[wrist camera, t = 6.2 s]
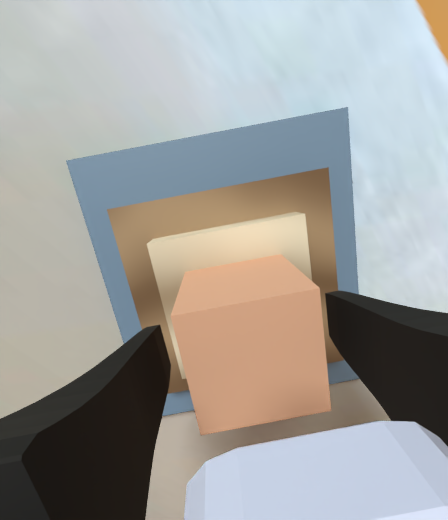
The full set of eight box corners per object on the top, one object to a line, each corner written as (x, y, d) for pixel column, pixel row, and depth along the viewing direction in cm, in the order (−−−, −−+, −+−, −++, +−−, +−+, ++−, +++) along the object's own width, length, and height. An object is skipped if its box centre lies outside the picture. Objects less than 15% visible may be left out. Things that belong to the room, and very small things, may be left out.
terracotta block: (291, 339, 15) (331, 410, 10) (204, 355, 15) (200, 435, 10) (280, 253, 14) (319, 287, 9) (184, 271, 14) (170, 316, 9)
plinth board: (356, 369, 20) (390, 410, 16) (150, 408, 20) (136, 459, 16) (339, 112, 16) (381, 86, 12) (74, 162, 16) (30, 152, 12)
